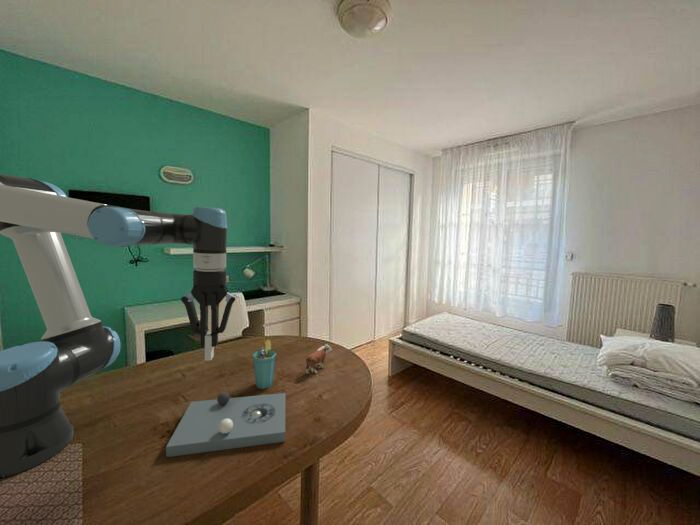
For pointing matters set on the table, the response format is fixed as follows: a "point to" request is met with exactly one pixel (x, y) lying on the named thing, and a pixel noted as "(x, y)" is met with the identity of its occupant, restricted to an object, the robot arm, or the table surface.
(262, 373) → the cup
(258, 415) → the steel ball
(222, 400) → the matte dark gray ball
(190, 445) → the plate
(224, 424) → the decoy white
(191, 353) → the table surface
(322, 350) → the bull figurine
